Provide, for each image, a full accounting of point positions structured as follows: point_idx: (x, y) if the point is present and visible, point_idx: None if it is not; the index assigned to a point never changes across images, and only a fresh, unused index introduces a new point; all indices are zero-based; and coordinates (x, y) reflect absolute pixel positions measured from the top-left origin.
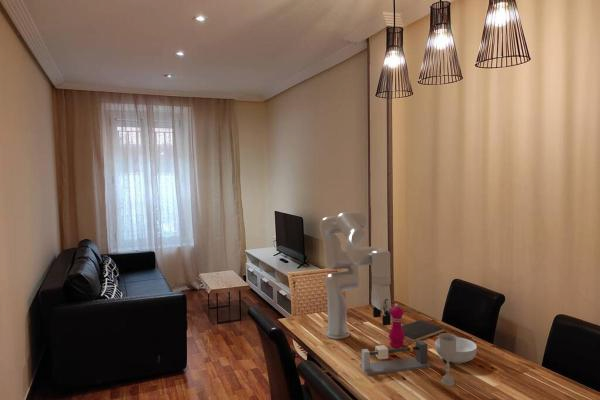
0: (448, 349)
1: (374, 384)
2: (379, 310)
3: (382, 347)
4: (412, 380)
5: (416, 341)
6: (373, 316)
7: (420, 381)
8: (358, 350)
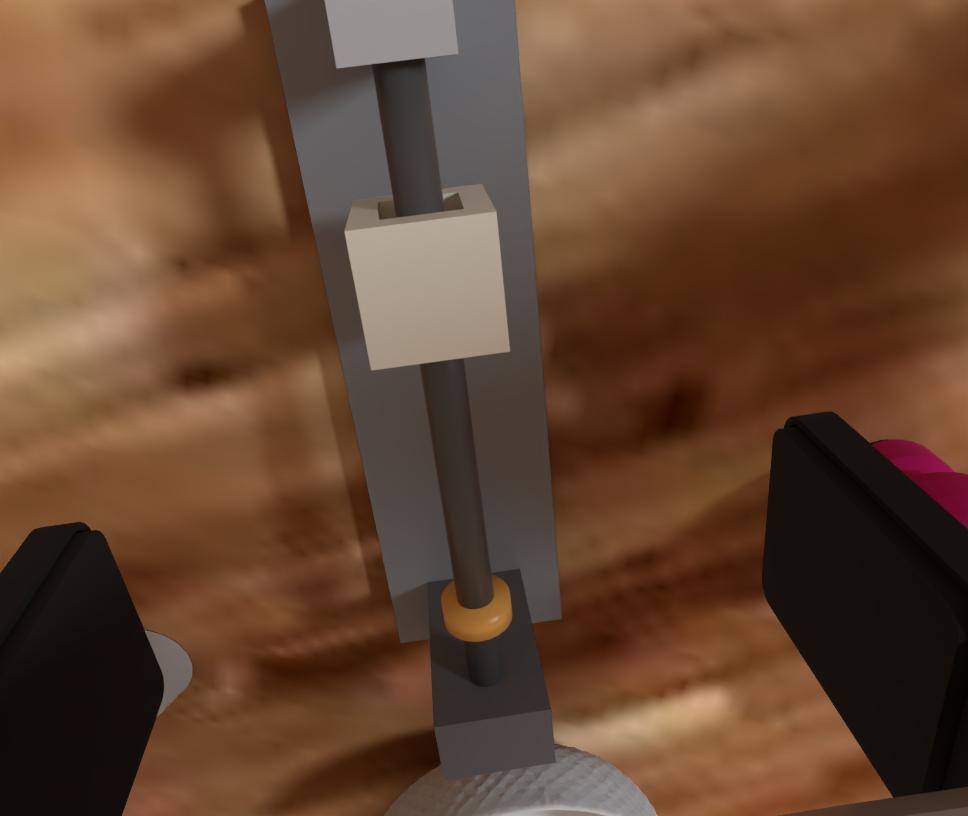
0: None
1: (39, 24)
2: (865, 718)
3: (426, 306)
4: (160, 437)
5: (534, 710)
6: (819, 416)
7: (144, 493)
8: (928, 65)
